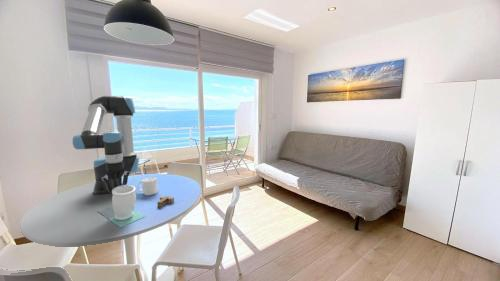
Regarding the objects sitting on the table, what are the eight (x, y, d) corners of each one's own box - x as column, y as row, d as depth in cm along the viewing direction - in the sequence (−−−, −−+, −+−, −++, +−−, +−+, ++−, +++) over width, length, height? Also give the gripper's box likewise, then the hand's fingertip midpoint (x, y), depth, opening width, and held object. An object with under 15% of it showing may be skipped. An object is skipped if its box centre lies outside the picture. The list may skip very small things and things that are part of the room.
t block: (153, 206, 117) (153, 201, 117) (162, 200, 125) (162, 195, 124) (165, 208, 115) (165, 203, 115) (174, 201, 123) (173, 197, 123)
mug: (160, 190, 141) (159, 177, 139) (153, 195, 132) (152, 182, 130) (144, 189, 142) (142, 176, 140) (136, 195, 133) (134, 181, 131)
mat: (98, 212, 111) (98, 211, 111) (122, 203, 120) (122, 203, 120) (120, 227, 96) (120, 227, 96) (145, 216, 106) (145, 216, 106)
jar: (119, 209, 110) (119, 183, 107) (139, 210, 111) (139, 185, 108) (107, 220, 100) (106, 193, 97) (129, 222, 101) (129, 195, 98)
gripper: (102, 165, 97) (108, 211, 101) (131, 160, 108) (135, 201, 111) (96, 163, 101) (101, 207, 105) (124, 158, 112) (128, 198, 115)
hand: (118, 204), depth 108 cm, fingers closed
